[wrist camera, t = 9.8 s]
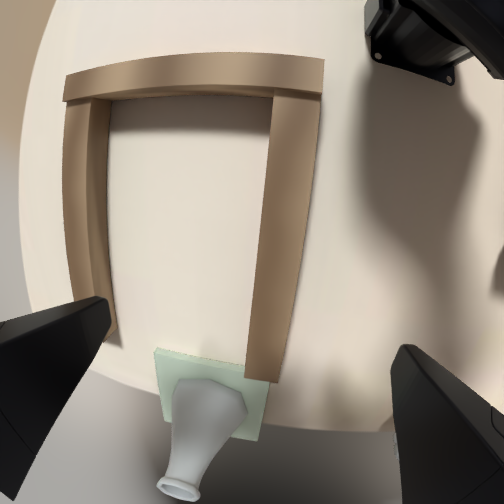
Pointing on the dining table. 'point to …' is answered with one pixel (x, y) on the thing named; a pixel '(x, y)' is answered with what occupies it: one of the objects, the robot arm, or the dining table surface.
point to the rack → (276, 182)
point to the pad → (227, 374)
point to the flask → (199, 432)
